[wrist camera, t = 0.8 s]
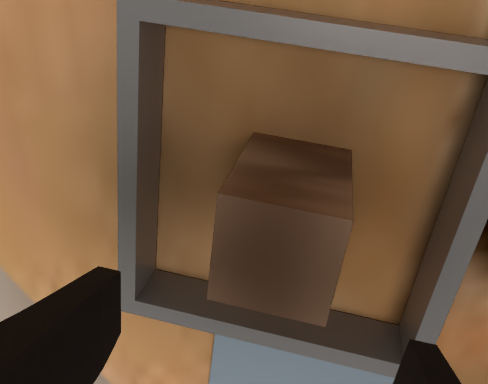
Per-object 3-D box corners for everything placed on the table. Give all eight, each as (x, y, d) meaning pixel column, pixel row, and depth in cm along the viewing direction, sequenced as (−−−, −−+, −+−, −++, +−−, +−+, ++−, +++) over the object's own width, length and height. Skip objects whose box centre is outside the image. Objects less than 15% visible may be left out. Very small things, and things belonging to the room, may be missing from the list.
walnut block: (351, 149, 18) (353, 220, 13) (330, 234, 20) (325, 327, 15) (254, 132, 19) (217, 193, 13) (242, 215, 21) (206, 299, 15)
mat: (400, 351, 22) (402, 360, 21) (366, 444, 25) (366, 454, 24) (220, 308, 23) (217, 316, 22) (208, 402, 26) (205, 411, 26)
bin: (525, 45, 15) (555, 56, 13) (411, 342, 21) (418, 384, 19) (146, -11, 17) (117, -9, 15) (140, 278, 23) (118, 310, 21)
